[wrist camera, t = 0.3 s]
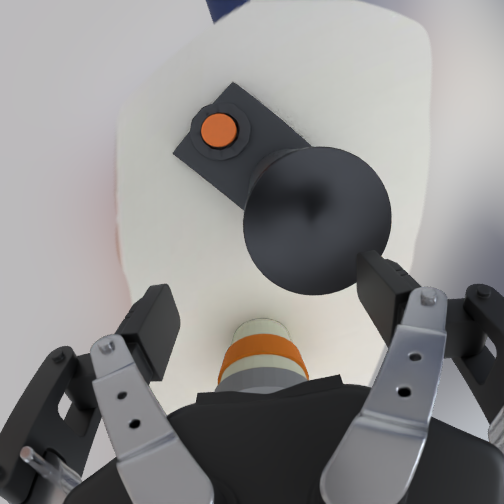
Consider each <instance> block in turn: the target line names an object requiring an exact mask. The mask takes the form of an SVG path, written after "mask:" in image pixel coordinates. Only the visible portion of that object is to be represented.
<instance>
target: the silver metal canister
mask: <svg viewBox="0 0 504 504" xmlns="http://www.w3.org/2000/svg"><path fill="white" fill-rule="evenodd" d="M390 230H391V206H390V201H389V197H388V194H387V191H386V189H385V187H384V185H383V183H382V181H381V179H380V178H379V176H378V175H377V174H376V172H375V171H374V170H373V169H372V168H371V167H370V166H369V165H368V164H367V163H366V162H364V161H363V160H362V159H360V158H359V157H357V156H355V155H353V154H351V153H349V152H347V151H344V150H341V149H337V148H332V147H306V148H302V149H282V150H278V151H275V152H273V153H271V154H269V155H267V156H266V157H264V158H263V159H262V160H261V161H260V162H259V163H258V164H257V166H256V167H255V169H254V171H253V173H252V175H251V178H250V183H249V195H248V198H247V201H246V205H245V210H244V219H243V232H244V238H245V243H246V246H247V249H248V252H249V254H250V256H251V258H252V260H253V262H254V263H255V265H256V266H257V268H258V269H259V270H260V271H261V272H262V274H263V275H264V276H265V277H267V278H268V279H269V280H270V281H271V282H273V283H274V284H276V285H277V286H279V287H281V288H283V289H285V290H288V291H291V292H294V293H298V294H303V295H324V294H330V293H334V292H337V291H340V290H343V289H345V288H347V287H349V286H351V285H353V284H355V283H356V282H357V267H356V257H357V254H358V253H361V252H366V251H372V250H375V251H376V252H377V253H378V254H379V255H380V256H381V255H382V253H383V252H384V250H385V247H386V245H387V242H388V239H389V235H390Z"/></svg>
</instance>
